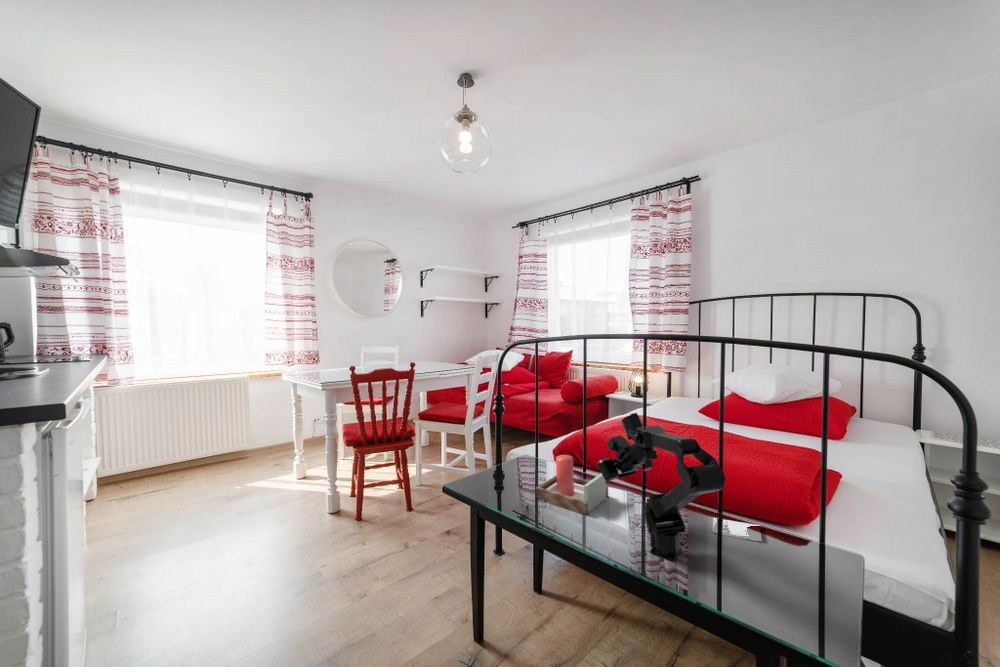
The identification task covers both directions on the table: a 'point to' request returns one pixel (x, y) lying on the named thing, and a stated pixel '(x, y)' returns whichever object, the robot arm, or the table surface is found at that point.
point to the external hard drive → (735, 527)
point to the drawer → (563, 496)
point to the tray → (588, 491)
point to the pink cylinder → (565, 475)
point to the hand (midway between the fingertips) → (612, 476)
